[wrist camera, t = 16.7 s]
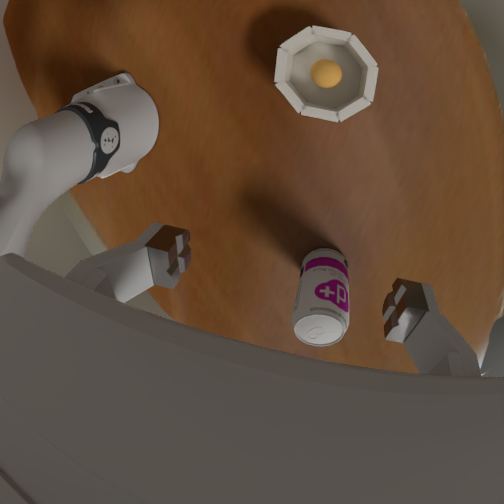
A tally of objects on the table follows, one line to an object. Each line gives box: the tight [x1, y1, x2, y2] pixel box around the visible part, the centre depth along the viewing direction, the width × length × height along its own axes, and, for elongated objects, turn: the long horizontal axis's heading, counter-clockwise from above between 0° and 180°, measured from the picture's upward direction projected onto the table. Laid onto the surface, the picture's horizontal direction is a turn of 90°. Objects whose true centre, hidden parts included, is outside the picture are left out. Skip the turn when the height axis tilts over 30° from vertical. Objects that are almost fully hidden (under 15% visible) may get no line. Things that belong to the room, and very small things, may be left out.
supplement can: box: [292, 248, 349, 346], centre depth 42 cm, size 8×8×15 cm
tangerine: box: [310, 59, 342, 88], centre depth 27 cm, size 4×4×4 cm
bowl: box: [274, 26, 378, 122], centre depth 27 cm, size 12×12×6 cm
